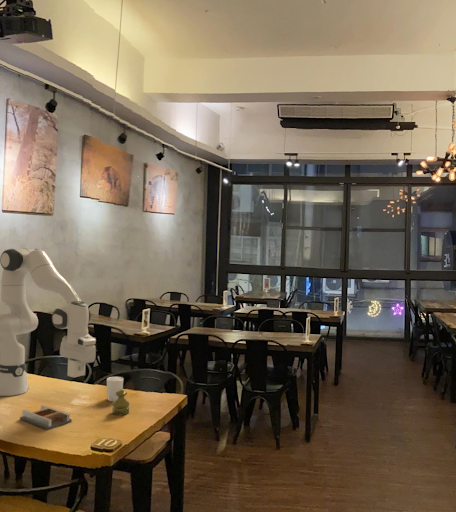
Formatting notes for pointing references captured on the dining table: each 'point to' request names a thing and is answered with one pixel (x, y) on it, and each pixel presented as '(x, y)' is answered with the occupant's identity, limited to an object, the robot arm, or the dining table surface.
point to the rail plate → (46, 417)
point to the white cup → (114, 387)
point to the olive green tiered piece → (120, 404)
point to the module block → (74, 368)
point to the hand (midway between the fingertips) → (76, 369)
